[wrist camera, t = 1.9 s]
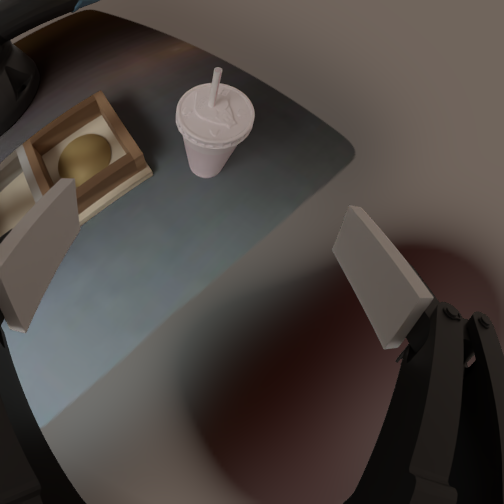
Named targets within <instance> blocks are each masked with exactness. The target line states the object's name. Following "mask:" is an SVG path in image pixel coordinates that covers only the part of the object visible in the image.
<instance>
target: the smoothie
mask: <svg viewBox="0 0 504 504" xmlns="http://www.w3.org/2000/svg"><path fill="white" fill-rule="evenodd" d="M221 74H222V69H221V68H219V67H217V68H215V69H214V74H213V79H212V83H207V84H202V85H198V86H196V87H194V88H192V89H190V90H189V91H187V92H186V93H185V94H184V95H183V96H182V97H181V99H180V100H179V102H178V105H177V109H176V124H177V127H178V129H179V131H180V133H181V134H182V135H183V139H184V144H185V149H186V153H187V157H188V162H189V166H190V169H191V171H192V172H193V173H194V174H195V175H197V176H199V177H202V178H210V177H214V176H216V175H217V174H218V173H219V172H220V171H221V170H222V168H223V166H224V165H225V163H226V162H227V160H228V159H229V157H230V155H231V154H232V152H233V151H234V149H235V148H236V146H237V145H238V144H239V143H240V142H242V141H243V140H244V139H245V138H246V137H247V136H248V135H249V133H250V131H251V129H252V126H253V122H254V118H255V112H254V107H253V105H252V103H251V101H250V100H249V98H248V97H247V96H246V95H245V94H244V93H243V92H241V91H240V90H238V89H236V88H234V87H232V86H229V85H226V84H221V83H220V79H221Z"/></svg>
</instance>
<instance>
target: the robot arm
mask: <svg viewBox="0 0 504 504" xmlns="http://www.w3.org/2000/svg"><path fill="white" fill-rule="evenodd" d="M98 1H99V0H0V135H2V134H3V133H4V132H5V131H6V130H8V129H9V128H10V127H11V126H12V125H13V124H14V123H15V122H16V121H17V120H18V119H19V117H20V116H21V115H22V114H23V113H24V111H25V110H26V109H27V107H28V106H29V104H30V103H31V101H32V99H33V98H34V96H35V94H36V91H37V89H38V86H39V82H40V73H39V70H38V68H37V66H36V64H35V62H34V61H33V59H32V58H30V57H29V56H28V55H26V54H25V53H24V52H22V51H21V50H20V49H18V48H17V47H16V46H15V45H13V44H12V43H11V41H10V40H11V39H13V38H14V37H17V36H18V35H20V34H22V33H24V32H26V31H28V30H30V29H32V28H34V27H36V26H38V25H40V24H43V23H45V22H47V21H50V20H52V19H54V18H57V17H59V16H62V15H64V14H67V13H69V12H72V13H73V12H75V11H77V10H78V9H79V8H82V7H84V6H87V5H90V4H92V3H95V2H98ZM79 231H80V223H79V215H78V207H77V197H76V186H75V178H61V179H60V180H59V181H58V182H57V183H56V184H55V185H54V186H53V187H52V188H51V189H50V190H49V191H48V192H47V193H46V194H45V195H44V196H43V197H42V198H41V199H40V200H39V201H38V202H37V203H36V204H35V205H34V206H33V207H32V208H31V209H30V210H29V211H28V212H27V213H26V215H25V216H24V217H23V218H22V219H21V220H20V221H19V222H18V223H17V225H16V226H15V227H14V228H13V229H10V230H9V231H8V232H6V233H5V234H4V235H2V236H1V237H0V504H86V503H85V502H84V501H83V499H82V498H81V497H80V495H79V494H78V492H77V491H76V489H75V488H74V487H73V485H72V484H71V482H70V481H69V479H68V478H67V476H66V474H65V473H64V471H63V470H62V468H61V466H60V465H59V463H58V461H57V460H56V458H55V456H54V454H53V453H52V451H51V449H50V447H49V446H48V444H47V442H46V440H45V438H44V436H43V434H42V432H41V430H40V428H39V426H38V424H37V422H36V420H35V417H34V415H33V413H32V411H31V409H30V406H29V404H28V402H27V399H26V397H25V394H24V392H23V389H22V387H21V384H20V381H19V379H18V376H17V373H16V370H15V367H14V364H13V361H12V358H11V355H10V352H9V348H8V345H7V341H6V338H5V334H4V331H3V329H2V327H1V324H2V322H3V320H4V318H5V320H6V322H7V324H8V326H9V328H10V330H14V331H18V332H22V333H26V332H27V330H28V328H29V325H30V323H31V321H32V319H33V316H34V314H35V312H36V310H37V308H38V306H39V304H40V301H41V299H42V297H43V295H44V293H45V291H46V289H47V287H48V285H49V284H50V282H51V280H52V278H53V276H54V274H55V272H56V270H57V269H58V267H59V265H60V263H61V261H62V260H63V258H64V256H65V254H66V253H67V251H68V249H69V248H70V246H71V244H72V243H73V241H74V239H75V238H76V236H77V235H78V233H79ZM332 251H333V253H334V255H335V257H336V258H337V260H338V262H339V264H340V265H341V267H342V269H343V271H344V273H345V275H346V276H347V278H348V280H349V282H350V284H351V285H352V287H353V289H354V291H355V293H356V295H357V297H358V299H359V301H360V303H361V304H362V306H363V308H364V310H365V312H366V314H367V316H368V318H369V320H370V322H371V324H372V326H373V328H374V330H375V332H376V334H377V336H378V338H379V340H380V342H381V344H382V346H383V348H384V349H390V348H398V347H399V346H400V344H401V343H402V342H403V340H404V339H405V338H407V340H408V342H409V344H408V346H407V347H406V348H405V350H404V351H403V352H402V353H401V354H400V355H399V357H398V358H397V360H396V362H398V361H399V360H400V359H402V358H403V359H402V363H401V367H400V371H399V375H398V378H397V382H396V385H395V389H394V392H393V396H392V399H391V402H390V405H389V408H388V411H387V414H386V417H385V420H384V423H383V426H382V428H381V431H380V434H379V437H378V439H377V442H376V444H375V447H374V449H373V452H372V454H371V456H370V459H369V461H368V464H367V466H366V468H365V471H364V473H363V475H362V477H361V479H360V481H359V483H358V485H357V487H356V489H355V491H354V493H353V494H352V495H351V496H350V497H349V498H348V499H347V500H346V501H345V502H344V503H343V504H504V356H503V352H502V349H501V346H500V343H499V340H498V337H497V334H496V332H495V329H494V326H493V324H492V322H491V321H490V319H489V318H488V316H486V315H485V314H483V313H481V312H474V314H473V315H472V316H471V318H470V319H469V320H467V319H464V318H462V316H461V314H460V313H459V311H458V310H457V309H456V308H455V307H454V306H452V305H451V304H449V303H446V302H441V303H439V301H438V300H437V299H436V297H435V296H434V294H433V293H432V292H431V290H430V289H429V287H428V286H427V285H426V283H424V282H423V279H422V278H421V277H420V276H419V274H418V273H417V271H416V270H415V269H414V268H413V266H411V265H410V264H409V263H408V262H407V261H406V260H405V259H404V257H403V256H402V255H401V253H399V251H398V250H397V248H396V247H395V246H394V245H393V243H392V242H391V241H390V240H389V239H388V237H387V236H386V235H385V234H384V233H383V231H382V230H381V229H380V228H379V227H378V226H377V224H376V223H375V222H374V221H373V220H372V219H371V218H370V216H369V215H368V214H367V213H366V212H365V211H364V210H363V209H362V207H357V206H351V205H349V206H348V209H347V211H346V214H345V217H344V220H343V222H342V225H341V228H340V230H339V233H338V236H337V238H336V241H335V244H334V246H333V249H332ZM474 355H475V357H476V361H475V362H474V363H473V364H472V365H471V366H470V367H468V366H467V362H468V361H469V360H470V359H471V358H472V356H474Z"/></svg>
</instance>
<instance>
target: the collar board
mask: <svg viewBox="0 0 504 504" xmlns="http://www.w3.org/2000/svg"><path fill="white" fill-rule="evenodd" d="M151 176H153V173H152V170H151V169H150V167H149V166H148V164H147V163H146V162H145V159H144V155H143V153H142V151H141V150H140V148H139V147H138V146H137V144H136V143H135V141H134V140H133V138H132V137H131V135H130V134H129V132H128V131H127V129H126V128H125V126H124V125H123V123H122V122H121V120H120V119H119V117H118V116H117V114H116V113H115V111H114V110H113V108H112V106H111V105H110V103H109V102H108V100H107V99H106V97H105V96H104V94H103V93H102V91H101V90H100V91H99V92H97V93H95V94H94V95H92V96H90V97H89V98H87V99H85V100H84V101H82V102H80V103H79V104H77V105H76V106H74V107H73V108H71V109H69V110H68V111H66V112H65V113H63V114H62V115H61V116H59V117H58V118H56V119H55V120H53V121H52V122H51V123H49V124H48V125H46V126H45V127H44V128H42V129H41V130H40V131H38V132H37V133H36V134H34V135H33V136H32V137H31V138H29V139H28V140H27V141H26V142H24V143H23V144H22V145H21V146H20V147H18V148H17V149H16V150H15V151H14V152H12V153H11V154H10V155H9V156H8V157H7V158H6V159H4V160H3V161H2V162H1V163H0V237H1V236H2V235H4V234H5V233H6V232H8V231H9V230H10V229H13V228H14V227H15V226H16V225H17V223H18V222H19V221H20V220H21V219H22V218H23V217H24V216H25V215H26V213H27V212H28V211H29V210H30V209H31V208H32V207H33V206H34V205H35V204H36V203H37V202H38V201H39V200H40V199H41V198H42V197H43V196H44V195H45V194H46V193H47V192H48V191H49V190H50V189H51V188H52V187H53V186H54V185H55V184H56V183H57V182H58V181H59V180H60V179H61V178H75V186H76V197H77V207H78V215H79V223H80V226H82V225H83V224H84V223H86V222H87V221H88V220H89V219H91V218H92V217H93V216H95V215H96V214H98V213H99V212H100V211H102V210H103V209H104V208H106V207H107V206H108V205H110V204H111V203H113V202H114V201H115V200H117V199H118V198H120V197H121V196H123V195H124V194H126V193H127V192H128V191H130V190H131V189H133V188H134V187H136V186H137V185H139V184H140V183H142V182H143V181H145V180H146V179H148V178H150V177H151Z"/></svg>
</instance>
